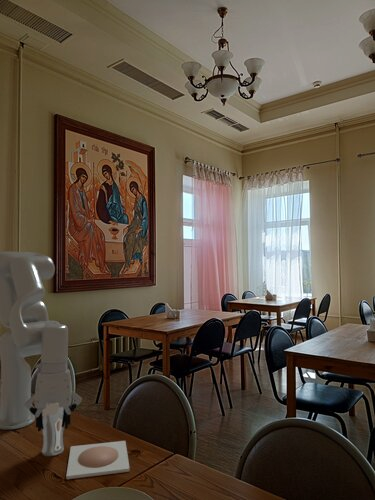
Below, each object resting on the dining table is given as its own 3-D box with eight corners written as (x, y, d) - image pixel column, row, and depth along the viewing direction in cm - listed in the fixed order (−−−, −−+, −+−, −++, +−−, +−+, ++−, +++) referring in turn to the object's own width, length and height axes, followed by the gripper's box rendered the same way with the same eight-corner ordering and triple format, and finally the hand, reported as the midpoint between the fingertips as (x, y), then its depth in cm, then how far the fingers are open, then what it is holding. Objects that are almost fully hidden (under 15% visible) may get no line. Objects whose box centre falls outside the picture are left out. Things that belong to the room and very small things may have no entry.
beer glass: (34, 453, 109) (35, 401, 109) (53, 443, 115) (54, 393, 115) (52, 459, 105) (52, 405, 106) (70, 448, 111) (71, 397, 112)
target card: (70, 449, 111) (70, 445, 111) (125, 443, 115) (125, 439, 115) (66, 479, 96) (66, 474, 96) (129, 471, 99) (129, 467, 99)
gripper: (20, 372, 105) (19, 437, 105) (84, 368, 109) (83, 430, 109) (25, 365, 113) (24, 425, 112) (85, 361, 117) (84, 420, 116)
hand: (53, 427), depth 110 cm, fingers closed on beer glass, 6 cm apart
